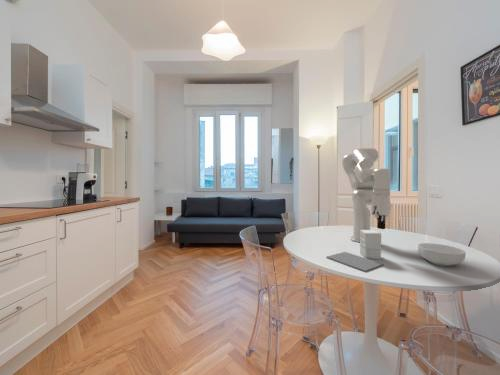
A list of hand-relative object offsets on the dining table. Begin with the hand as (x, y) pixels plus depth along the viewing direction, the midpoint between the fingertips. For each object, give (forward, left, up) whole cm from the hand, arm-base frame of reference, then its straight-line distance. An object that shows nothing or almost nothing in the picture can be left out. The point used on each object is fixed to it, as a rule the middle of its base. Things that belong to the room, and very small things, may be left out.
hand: (381, 228), depth 119 cm
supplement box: (+9, -1, -13) cm, 16 cm away
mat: (+22, -1, -13) cm, 25 cm away
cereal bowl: (-10, +21, -13) cm, 27 cm away
